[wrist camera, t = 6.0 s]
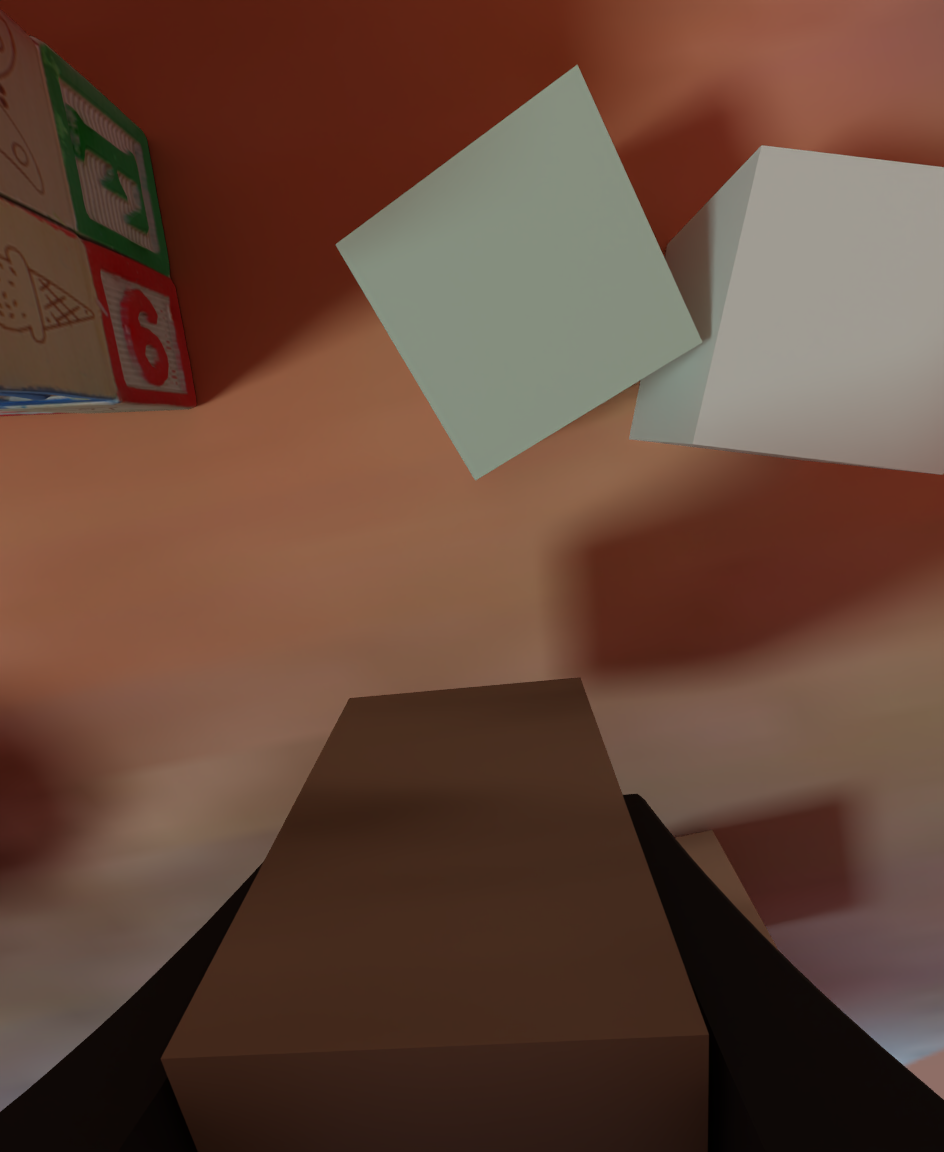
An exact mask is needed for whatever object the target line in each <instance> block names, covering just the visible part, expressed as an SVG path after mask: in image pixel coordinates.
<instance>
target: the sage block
mask: <svg viewBox="0 0 944 1152" xmlns="http://www.w3.org/2000/svg"><path fill="white" fill-rule="evenodd" d="M335 245H336V247H337V248H338V250H339V252H340V254H341V255H342V257H343V259H344V260H345V262H346V264H347V265H348V267H349V269H350V270H351V272H352V274H353V275H354V277H355V279H356V280H357V282H358V284H359V286H360V287H361V289H362V291H363V292H364V294H365V296H366V297H367V299H368V301H369V302H370V304H371V306H372V307H373V309H374V311H375V312H376V314H377V316H378V318H379V319H380V321H381V323H382V324H383V326H384V328H385V329H386V331H387V333H388V334H389V336H390V338H391V339H392V341H393V343H394V344H395V346H396V348H397V350H398V351H399V353H400V355H401V356H402V358H403V360H404V361H405V363H406V365H407V366H408V368H409V370H410V371H411V373H412V375H413V376H414V378H415V380H416V381H417V383H418V385H419V387H420V388H421V390H422V392H423V393H424V395H425V397H426V398H427V400H428V402H429V403H430V405H431V407H432V408H433V410H434V412H435V413H436V415H437V417H438V419H439V420H440V422H441V424H442V425H443V427H444V429H445V430H446V432H447V434H448V435H449V437H450V439H451V440H452V442H453V444H454V445H455V447H456V449H457V451H458V452H459V454H460V456H461V457H462V459H463V461H464V462H465V464H466V466H467V467H468V469H469V471H470V472H471V474H472V476H473V477H474V479H475V480H477V479H479V478H480V477H482V476H484V475H485V474H487V473H488V472H490V471H492V470H493V469H495V468H497V467H498V466H500V465H502V464H503V463H505V462H507V461H508V460H510V459H511V458H513V457H515V456H516V455H518V454H520V453H521V452H523V451H525V450H526V449H528V448H530V447H531V446H533V445H535V444H536V443H538V442H539V441H541V440H543V439H544V438H546V437H548V436H549V435H551V434H553V433H554V432H556V431H558V430H559V429H561V428H562V427H564V426H566V425H567V424H569V423H571V422H572V421H574V420H576V419H577V418H579V417H581V416H582V415H584V414H586V413H587V412H589V411H590V410H592V409H594V408H595V407H597V406H599V405H600V404H602V403H604V402H605V401H607V400H609V399H610V398H612V397H613V396H615V395H617V394H618V393H620V392H622V391H623V390H625V389H627V388H628V387H630V386H632V385H633V384H635V383H637V382H638V381H640V380H641V379H643V378H645V377H646V376H648V375H650V374H651V373H653V372H655V371H656V370H658V369H660V368H661V367H663V366H664V365H666V364H668V363H669V362H671V361H673V360H674V359H676V358H678V357H679V356H681V355H683V354H684V353H686V352H688V351H689V350H691V349H692V348H694V347H696V346H697V345H699V344H701V343H702V340H701V338H700V336H699V333H698V331H697V329H696V327H695V325H694V322H693V320H692V318H691V316H690V313H689V311H688V309H687V307H686V305H685V302H684V300H683V298H682V296H681V294H680V291H679V289H678V287H677V285H676V282H675V280H674V278H673V276H672V274H671V271H670V269H669V267H668V265H667V262H666V260H665V258H664V256H663V254H662V251H661V249H660V247H659V245H658V242H657V240H656V238H655V236H654V234H653V231H652V229H651V227H650V225H649V222H648V220H647V218H646V216H645V214H644V211H643V209H642V207H641V205H640V202H639V200H638V198H637V196H636V194H635V191H634V189H633V187H632V185H631V183H630V180H629V178H628V176H627V174H626V171H625V169H624V167H623V165H622V163H621V160H620V158H619V156H618V154H617V151H616V149H615V147H614V145H613V143H612V140H611V138H610V136H609V134H608V131H607V129H606V127H605V125H604V123H603V120H602V118H601V116H600V114H599V111H598V109H597V107H596V105H595V103H594V100H593V98H592V96H591V94H590V91H589V89H588V87H587V85H586V83H585V80H584V78H583V76H582V74H581V71H580V69H579V67H578V65H576V66H575V67H573V68H572V69H571V70H569V71H568V72H567V73H565V74H564V75H563V76H561V77H560V78H559V79H557V80H556V81H554V82H553V83H552V84H550V85H549V86H548V87H546V88H545V89H544V90H542V91H541V92H540V93H538V94H537V95H536V96H534V97H533V98H532V99H530V100H529V101H528V102H526V103H525V104H524V105H522V106H521V107H520V108H518V109H517V110H515V111H514V112H513V113H511V114H510V115H509V116H507V117H506V118H505V119H503V120H502V121H501V122H499V123H498V124H497V125H495V126H494V127H493V128H491V129H490V130H489V131H487V132H486V133H485V134H483V135H482V136H481V137H479V138H478V139H476V140H475V141H474V142H472V143H471V144H470V145H468V146H467V147H466V148H464V149H463V150H462V151H460V152H459V153H458V154H456V155H455V156H454V157H452V158H451V159H450V160H448V161H447V162H446V163H444V164H443V165H442V166H440V167H439V168H437V169H436V170H435V171H433V172H432V173H431V174H429V175H428V176H427V177H425V178H424V179H423V180H421V181H420V182H419V183H417V184H416V185H415V186H413V187H412V188H411V189H409V190H408V191H407V192H405V193H404V194H403V195H401V196H400V197H398V198H397V199H396V200H394V201H393V202H392V203H390V204H389V205H388V206H386V207H385V208H384V209H382V210H381V211H380V212H378V213H377V214H376V215H374V216H373V217H372V218H370V219H369V220H368V221H366V222H365V223H364V224H362V225H361V226H359V227H358V228H357V229H355V230H354V231H353V232H351V233H350V234H349V235H347V236H346V237H345V238H343V239H342V240H341V241H339V242H338V243H337V244H335Z"/></svg>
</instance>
